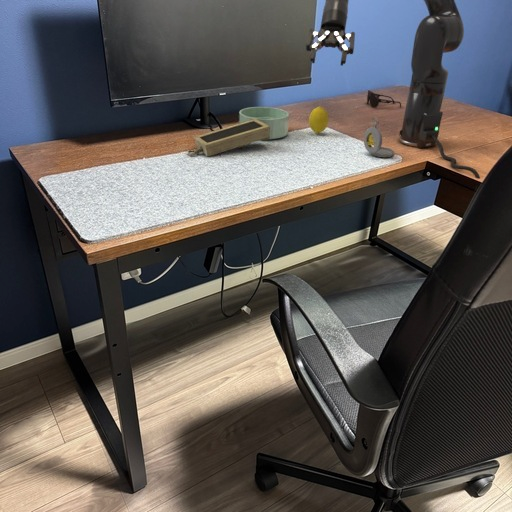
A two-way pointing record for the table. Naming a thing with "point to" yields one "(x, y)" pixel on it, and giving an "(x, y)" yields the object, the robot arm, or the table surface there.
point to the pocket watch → (376, 142)
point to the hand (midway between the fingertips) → (327, 62)
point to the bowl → (268, 119)
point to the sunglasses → (377, 99)
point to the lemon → (318, 119)
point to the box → (231, 137)
